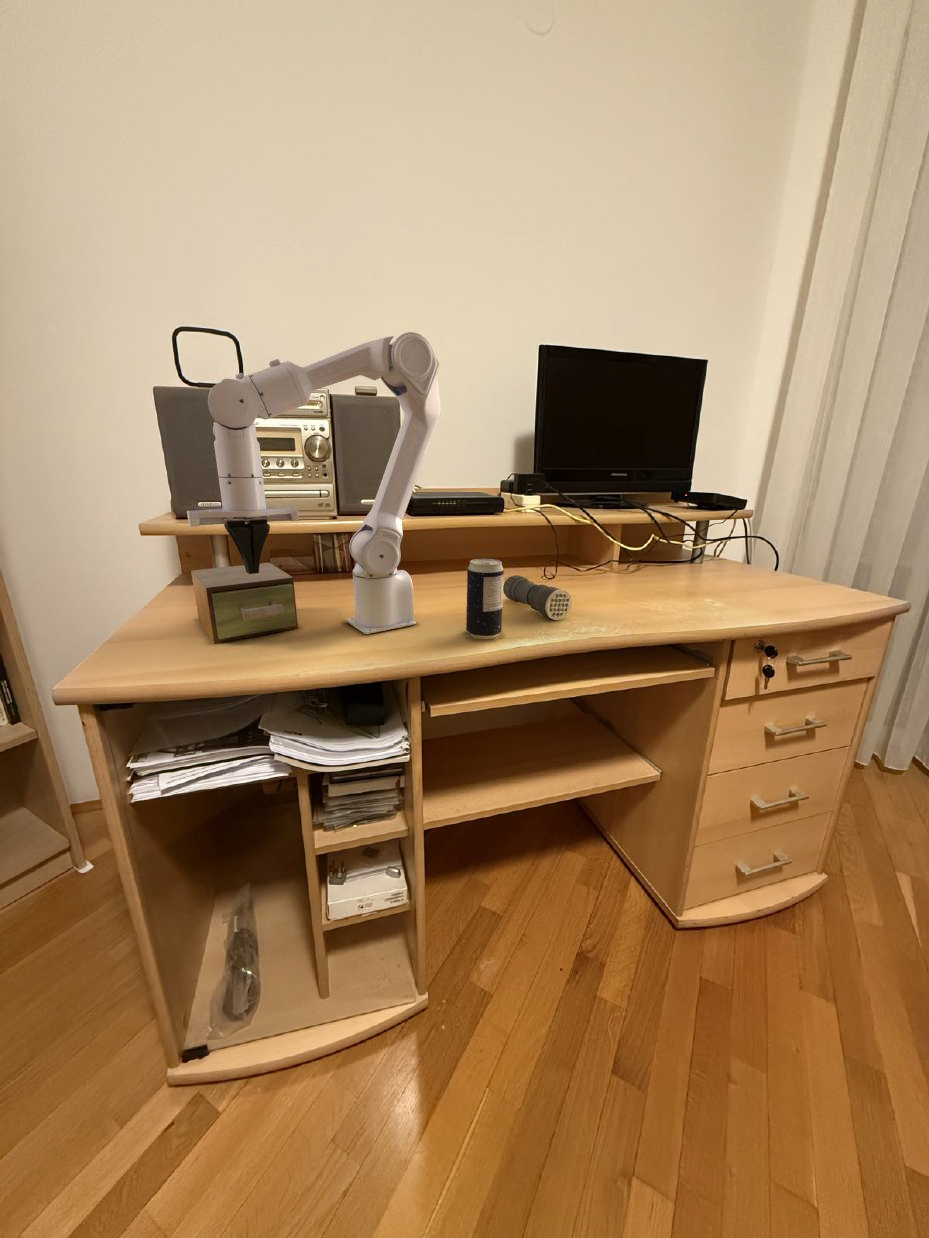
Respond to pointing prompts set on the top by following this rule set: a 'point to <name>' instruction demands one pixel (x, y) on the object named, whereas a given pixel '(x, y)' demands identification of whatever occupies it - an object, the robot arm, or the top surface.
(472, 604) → the beverage can
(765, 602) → the top surface
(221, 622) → the drawer
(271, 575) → the cabinet
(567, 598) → the flashlight
